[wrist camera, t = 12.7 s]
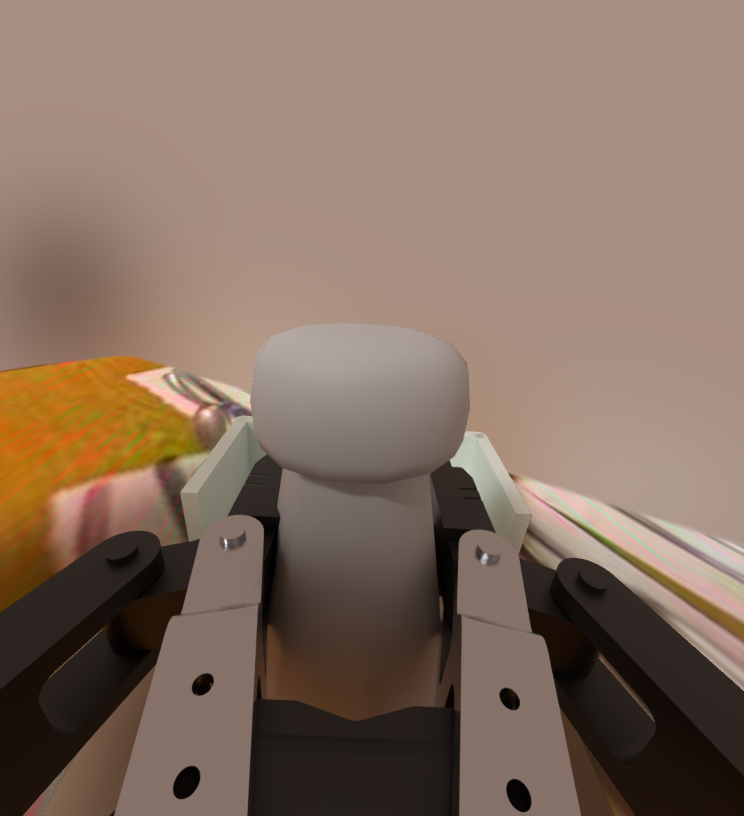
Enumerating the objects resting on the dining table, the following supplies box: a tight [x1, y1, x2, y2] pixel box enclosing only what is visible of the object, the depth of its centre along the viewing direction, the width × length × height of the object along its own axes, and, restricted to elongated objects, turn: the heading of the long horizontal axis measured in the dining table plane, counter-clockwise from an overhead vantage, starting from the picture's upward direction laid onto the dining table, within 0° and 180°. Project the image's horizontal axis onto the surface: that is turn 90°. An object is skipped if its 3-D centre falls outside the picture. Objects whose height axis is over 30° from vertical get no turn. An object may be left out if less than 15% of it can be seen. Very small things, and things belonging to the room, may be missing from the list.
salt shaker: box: [250, 323, 470, 721], centre depth 9 cm, size 6×6×13 cm
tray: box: [180, 416, 532, 555], centre depth 23 cm, size 17×8×5 cm, turn 90°
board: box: [42, 597, 614, 816], centre depth 13 cm, size 16×14×2 cm
